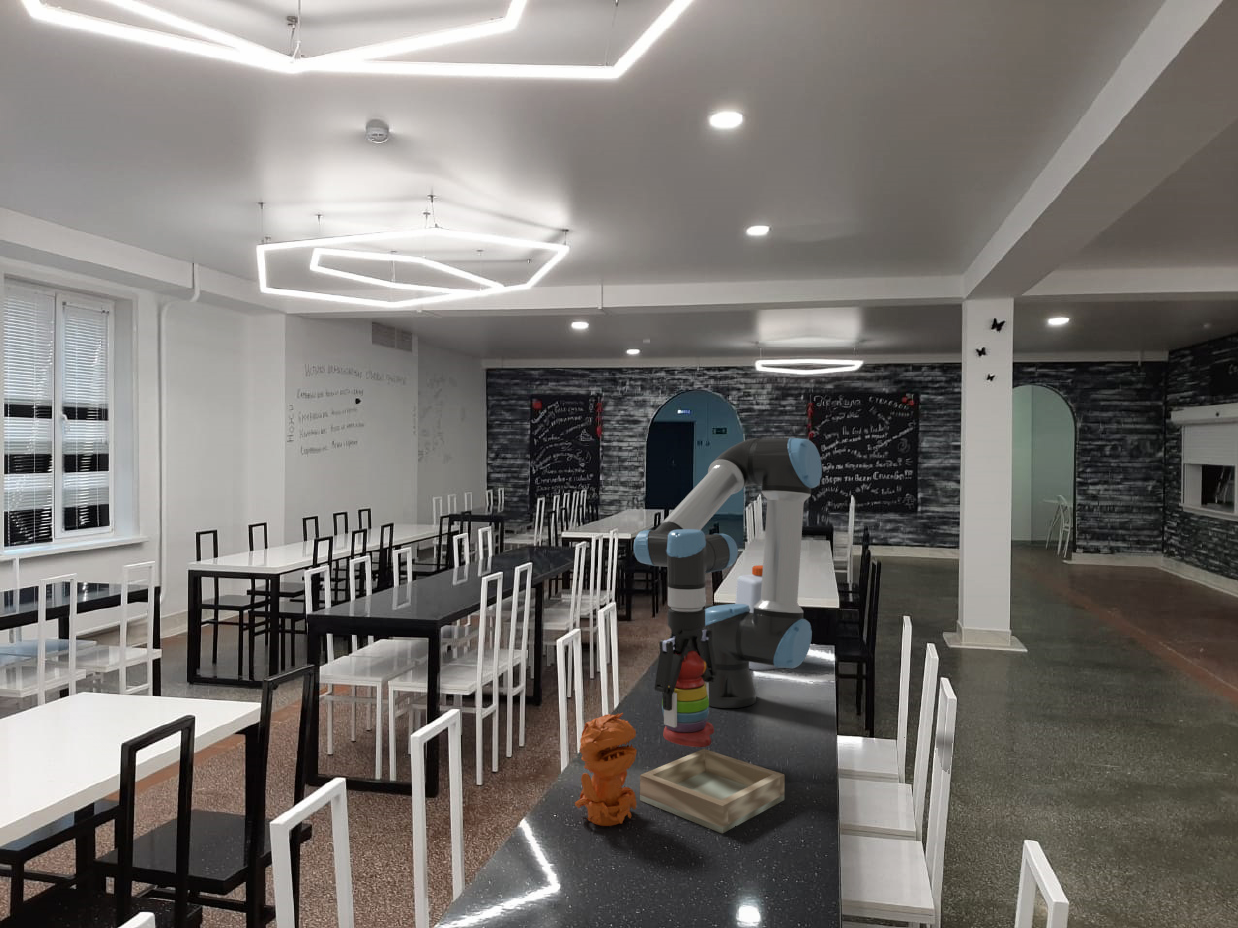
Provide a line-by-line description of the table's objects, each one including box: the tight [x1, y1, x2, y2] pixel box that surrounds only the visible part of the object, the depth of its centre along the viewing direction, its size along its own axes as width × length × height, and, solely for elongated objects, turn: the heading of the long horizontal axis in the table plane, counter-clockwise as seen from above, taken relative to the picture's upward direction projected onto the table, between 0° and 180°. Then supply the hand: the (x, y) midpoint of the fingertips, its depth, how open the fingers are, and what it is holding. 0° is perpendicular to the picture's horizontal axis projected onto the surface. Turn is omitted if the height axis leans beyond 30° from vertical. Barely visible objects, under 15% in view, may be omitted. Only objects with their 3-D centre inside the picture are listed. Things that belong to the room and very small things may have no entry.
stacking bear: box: [661, 651, 715, 748], centre depth 167 cm, size 11×10×18 cm
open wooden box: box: [639, 748, 785, 834], centre depth 147 cm, size 18×18×4 cm
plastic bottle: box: [734, 564, 784, 671], centre depth 239 cm, size 15×15×28 cm
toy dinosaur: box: [574, 712, 638, 827], centre depth 139 cm, size 11×11×18 cm
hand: (686, 718), depth 167 cm, fingers closed on stacking bear, 9 cm apart
